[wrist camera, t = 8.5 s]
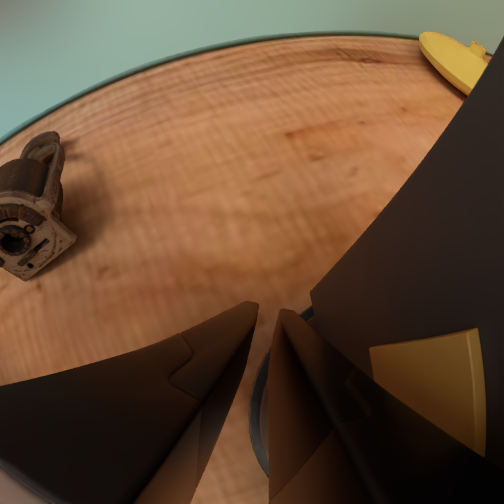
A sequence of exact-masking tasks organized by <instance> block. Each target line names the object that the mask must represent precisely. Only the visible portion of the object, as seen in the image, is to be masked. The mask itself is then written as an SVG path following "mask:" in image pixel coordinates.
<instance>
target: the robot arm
mask: <svg viewBox="0 0 504 504" xmlns="http://www.w3.org/2000/svg"><path fill="white" fill-rule="evenodd" d="M258 309H259V304H258V303H254V302H249V301H245V302H243V303H241V304H239V305H237V306H235V307H233V308H231V309H229V310H227V311H225V312H223V313H221V314H219V315H217V316H215V317H213V318H210V319H208V320H206V321H204V322H202V323H200V324H198V325H196V326H194V327H192V328H190V329H188V330H185V331H183V332H181V333H178V334H176V335H174V336H172V337H169V338H167V339H165V340H162V341H160V342H158V343H155V344H152V345H150V346H147V347H144V348H141V349H138V350H135V351H132V352H128V353H125V354H122V355H119V356H115V357H112V358H109V359H105V360H102V361H98V362H95V363H91V364H88V365H84V366H80V367H77V368H73V369H69V370H66V371H62V372H58V373H54V374H50V375H46V376H42V377H38V378H34V379H30V380H26V381H21V382H17V383H12V384H8V385H3V386H0V504H190V503H191V500H192V498H193V495H194V493H195V491H196V488H197V486H198V484H199V482H200V479H201V477H202V475H203V472H204V470H205V468H206V465H207V463H208V461H209V458H210V456H211V454H212V451H213V449H214V446H215V444H216V442H217V439H218V437H219V434H220V432H221V429H222V427H223V425H224V422H225V420H226V417H227V415H228V412H229V410H230V407H231V405H232V402H233V400H234V397H235V395H236V392H237V389H238V387H239V384H240V382H241V379H242V377H243V374H244V371H245V368H246V364H247V360H248V355H249V351H250V347H251V343H252V339H253V334H254V330H255V326H256V321H257V316H258ZM268 425H269V501H270V502H269V504H504V470H503V469H501V468H499V467H498V466H496V465H495V464H493V463H492V462H490V461H488V460H487V459H485V458H484V457H482V456H481V455H479V454H478V453H476V452H475V451H473V450H472V449H470V448H469V447H467V446H466V445H464V444H463V443H461V442H460V441H458V440H457V439H455V438H454V437H452V436H451V435H449V434H448V433H446V432H445V431H443V430H442V429H440V428H439V427H437V426H436V425H434V424H433V423H432V422H430V421H429V420H427V419H426V418H424V417H423V416H422V415H420V414H419V413H417V412H416V411H414V410H413V409H412V408H410V407H409V406H407V405H406V404H404V403H403V402H402V401H400V400H399V399H397V398H396V397H395V396H393V395H392V394H391V393H389V392H388V391H387V390H385V389H384V388H383V387H381V386H380V385H379V384H377V383H376V382H375V381H374V380H373V379H371V378H370V377H369V376H368V375H367V374H365V373H364V372H363V371H362V370H361V369H360V368H359V367H356V365H354V364H353V363H352V362H351V361H350V360H349V359H348V358H346V357H345V356H344V355H343V354H342V353H341V352H340V351H339V350H337V349H336V348H335V347H334V346H333V345H332V344H331V343H330V342H328V341H327V340H326V339H325V338H324V337H323V336H322V335H321V334H319V333H318V332H317V331H316V330H315V329H314V328H313V327H312V326H310V325H309V324H308V323H307V322H306V321H305V320H304V319H303V318H302V317H300V316H299V315H298V314H297V313H296V312H295V311H293V310H289V309H283V308H282V309H281V310H280V312H279V315H278V319H277V322H276V326H275V329H274V334H273V340H272V347H271V354H270V361H269V369H268Z"/></svg>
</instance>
